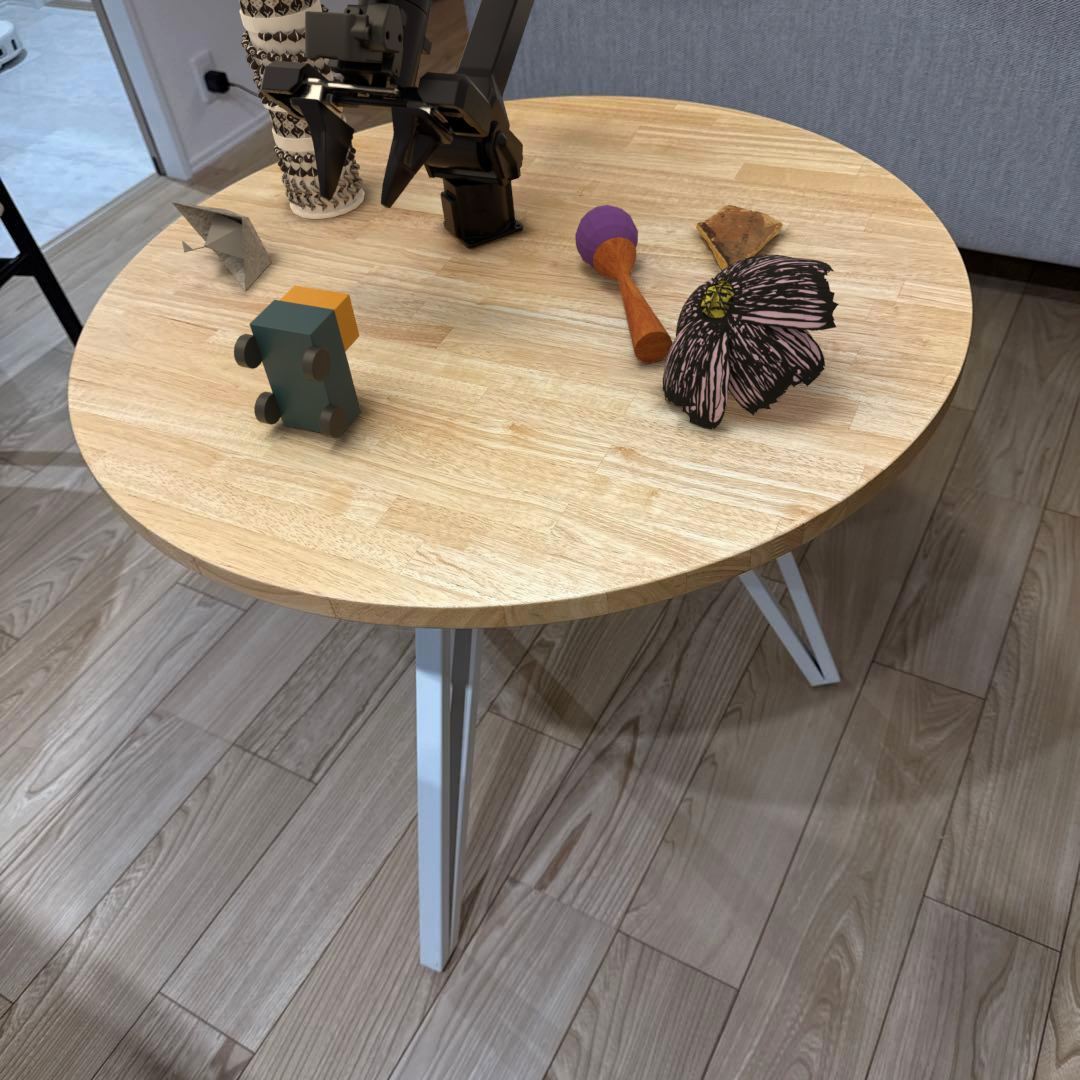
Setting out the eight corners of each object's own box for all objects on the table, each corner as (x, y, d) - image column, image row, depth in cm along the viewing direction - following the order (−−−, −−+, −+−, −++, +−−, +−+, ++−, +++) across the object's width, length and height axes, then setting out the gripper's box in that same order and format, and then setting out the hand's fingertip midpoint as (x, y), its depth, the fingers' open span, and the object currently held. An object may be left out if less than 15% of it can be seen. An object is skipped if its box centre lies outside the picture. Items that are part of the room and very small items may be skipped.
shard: (732, 286, 93) (733, 268, 92) (661, 265, 97) (662, 249, 96) (785, 234, 99) (787, 217, 98) (717, 217, 103) (717, 200, 101)
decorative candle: (385, 190, 113) (335, -58, 96) (331, 227, 108) (268, -28, 90) (324, 176, 117) (266, -65, 99) (270, 211, 112) (198, -37, 94)
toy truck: (313, 381, 88) (283, 280, 81) (384, 394, 86) (359, 293, 79) (262, 437, 83) (226, 335, 76) (336, 453, 81) (306, 350, 74)
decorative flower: (633, 242, 81) (821, 190, 76) (673, 331, 91) (843, 290, 85) (634, 385, 74) (840, 340, 69) (677, 466, 84) (863, 431, 78)
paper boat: (302, 253, 102) (232, 273, 96) (282, 296, 107) (213, 318, 100) (228, 168, 103) (154, 182, 96) (211, 214, 108) (138, 231, 101)
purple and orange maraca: (613, 332, 83) (563, 205, 96) (626, 383, 87) (577, 256, 100) (682, 308, 82) (623, 185, 95) (691, 362, 87) (634, 236, 100)
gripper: (238, -49, 76) (199, 155, 77) (456, -42, 70) (411, 179, 71) (316, 25, 87) (281, 203, 88) (511, 36, 81) (472, 227, 82)
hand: (355, 202), depth 82 cm, fingers open, 5 cm apart
